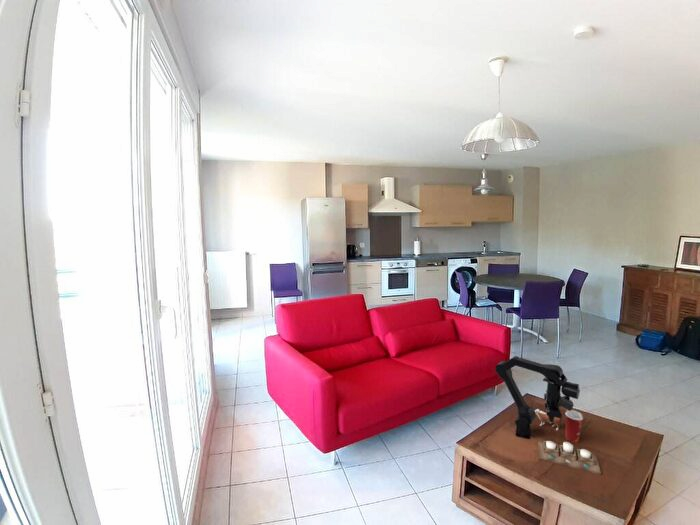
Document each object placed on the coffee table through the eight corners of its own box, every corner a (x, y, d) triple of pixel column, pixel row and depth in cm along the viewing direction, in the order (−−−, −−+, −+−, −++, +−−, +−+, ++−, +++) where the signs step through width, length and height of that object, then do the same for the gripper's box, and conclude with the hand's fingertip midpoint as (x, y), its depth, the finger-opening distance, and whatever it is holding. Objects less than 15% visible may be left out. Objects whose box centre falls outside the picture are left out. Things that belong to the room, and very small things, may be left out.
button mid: (563, 452, 163) (563, 445, 163) (562, 447, 167) (562, 441, 166) (573, 455, 161) (573, 448, 161) (571, 450, 165) (572, 443, 165)
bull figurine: (533, 419, 195) (534, 406, 193) (561, 428, 187) (562, 414, 186) (532, 423, 191) (533, 409, 190) (560, 432, 183) (561, 418, 182)
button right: (580, 460, 160) (581, 453, 160) (579, 455, 164) (579, 448, 163) (590, 462, 159) (591, 455, 158) (589, 457, 162) (589, 450, 162)
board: (539, 458, 163) (539, 451, 163) (538, 443, 174) (538, 437, 174) (600, 474, 153) (601, 467, 153) (595, 457, 164) (596, 451, 163)
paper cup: (583, 444, 173) (586, 418, 172) (566, 442, 175) (569, 416, 173) (576, 435, 181) (579, 410, 179) (560, 433, 182) (562, 408, 181)
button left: (546, 451, 166) (546, 444, 166) (545, 446, 170) (545, 439, 169) (555, 454, 165) (556, 447, 164) (554, 449, 168) (555, 442, 168)
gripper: (575, 404, 157) (573, 436, 159) (570, 386, 174) (567, 415, 176) (547, 399, 162) (545, 429, 164) (544, 382, 179) (542, 410, 181)
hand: (551, 421), depth 171 cm, fingers closed
